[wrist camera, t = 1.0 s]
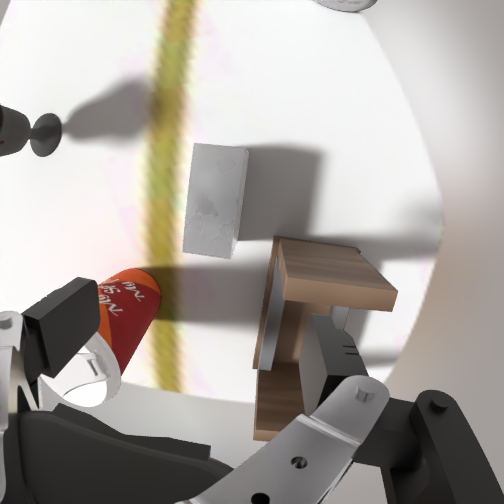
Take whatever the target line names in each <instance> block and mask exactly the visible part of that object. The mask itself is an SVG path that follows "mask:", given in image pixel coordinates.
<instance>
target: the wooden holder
mask: <svg viewBox="0 0 504 504" xmlns="http://www.w3.org/2000/svg"><path fill="white" fill-rule="evenodd" d="M397 294H398V291H397V290H396V289H395V288H394V287H393V286H392V285H391V284H390V283H389V282H388V281H387V280H386V279H385V278H384V277H383V276H382V275H381V274H380V273H379V272H378V271H377V270H376V269H375V268H374V267H373V266H372V265H371V264H370V263H369V262H368V261H366V260H365V259H364V258H363V257H362V256H361V255H360V250H359V249H358V248H352V247H346V246H339V245H333V244H327V243H320V242H314V241H307V240H300V239H294V238H287V237H280V236H274V239H273V245H272V252H271V258H270V264H269V271H268V277H267V283H266V289H265V295H264V301H263V307H262V313H261V319H260V325H259V331H258V337H257V343H256V349H255V354H254V360H253V369H257V383H256V402H255V420H254V436H253V440H257V441H268V442H269V441H270V440H272V439H273V438H274V437H275V436H276V435H277V434H278V433H280V432H281V431H282V430H283V429H284V428H285V427H286V426H287V425H289V424H290V423H291V422H292V421H293V420H294V419H295V418H296V417H297V416H299V415H300V414H305V410H304V401H303V394H302V386H301V378H300V370H299V356H300V350H301V346H302V341H303V337H304V333H305V328H306V324H307V319H308V316H309V314H310V313H314V314H324V315H331V317H332V319H333V322H334V324H335V327H336V329H341V330H344V326H345V323H346V319H347V316H348V312H349V308H358V309H367V310H377V311H388V312H392V310H393V307H394V304H395V301H396V297H397Z"/></svg>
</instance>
